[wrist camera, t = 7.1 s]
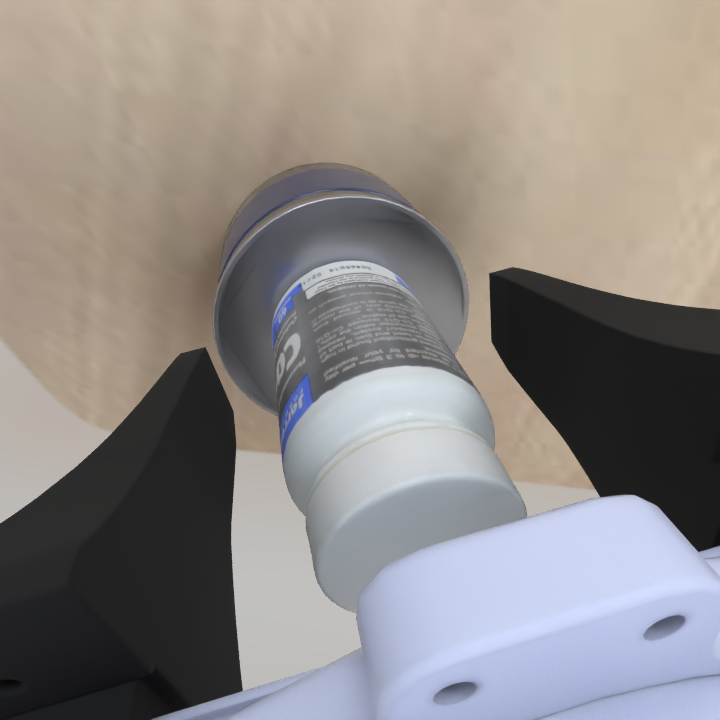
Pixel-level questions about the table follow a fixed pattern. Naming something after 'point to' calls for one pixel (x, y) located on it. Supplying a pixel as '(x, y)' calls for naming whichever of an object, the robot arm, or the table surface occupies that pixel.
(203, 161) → the table surface
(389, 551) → the pill bottle
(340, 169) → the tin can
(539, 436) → the table surface
